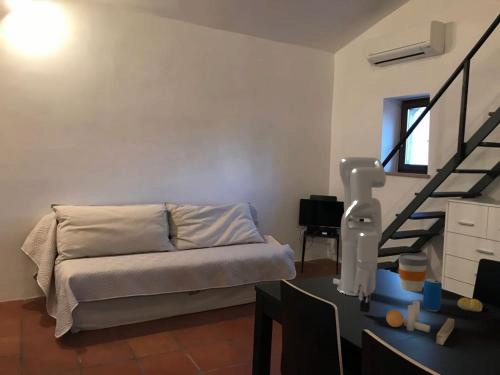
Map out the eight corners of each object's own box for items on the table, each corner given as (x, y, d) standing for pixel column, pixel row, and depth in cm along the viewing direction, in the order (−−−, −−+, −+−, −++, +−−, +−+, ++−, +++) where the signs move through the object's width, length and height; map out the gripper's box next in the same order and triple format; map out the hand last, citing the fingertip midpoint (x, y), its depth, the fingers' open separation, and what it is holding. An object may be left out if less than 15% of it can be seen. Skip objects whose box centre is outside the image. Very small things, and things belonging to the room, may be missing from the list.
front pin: (403, 321, 156) (427, 328, 150) (405, 317, 157) (429, 324, 152) (404, 327, 157) (428, 334, 151) (406, 323, 158) (430, 329, 153)
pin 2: (410, 324, 158) (411, 301, 157) (412, 322, 160) (413, 300, 159) (417, 326, 157) (418, 303, 156) (419, 324, 159) (420, 301, 158)
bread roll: (458, 303, 182) (459, 294, 182) (482, 307, 178) (483, 298, 177) (456, 309, 175) (456, 299, 175) (481, 313, 171) (481, 304, 170)
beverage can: (441, 313, 170) (443, 283, 169) (424, 311, 171) (426, 281, 170) (438, 307, 176) (439, 278, 175) (421, 305, 178) (423, 277, 177)
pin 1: (405, 329, 153) (407, 306, 152) (407, 327, 155) (409, 304, 154) (412, 331, 152) (414, 308, 151) (414, 329, 154) (416, 306, 153)
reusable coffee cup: (425, 286, 204) (427, 254, 202) (426, 294, 192) (428, 261, 190) (397, 282, 208) (398, 252, 206) (396, 290, 196) (398, 258, 195)
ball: (397, 333, 155) (382, 323, 158) (406, 321, 157) (392, 311, 161) (397, 325, 151) (383, 315, 154) (407, 313, 153) (392, 303, 157)
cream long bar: (436, 343, 143) (436, 334, 142) (447, 326, 157) (448, 318, 157) (442, 345, 142) (443, 336, 141) (453, 327, 156) (454, 319, 156)
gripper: (364, 259, 173) (362, 303, 174) (349, 266, 161) (347, 314, 162) (383, 262, 168) (381, 307, 170) (369, 270, 156) (367, 319, 158)
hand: (364, 311), depth 166 cm, fingers closed
